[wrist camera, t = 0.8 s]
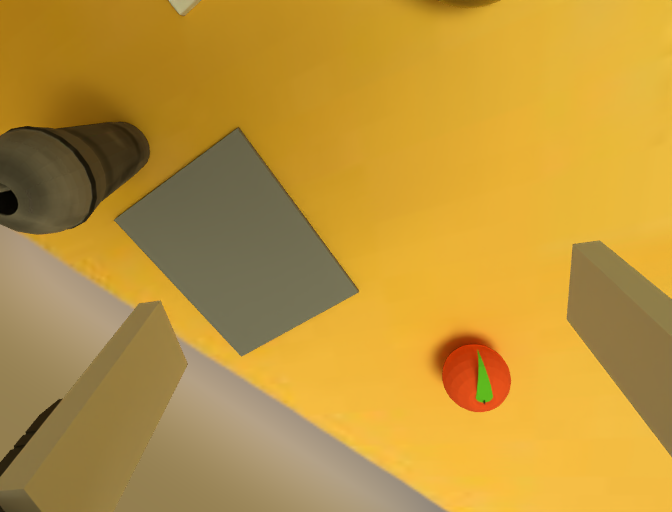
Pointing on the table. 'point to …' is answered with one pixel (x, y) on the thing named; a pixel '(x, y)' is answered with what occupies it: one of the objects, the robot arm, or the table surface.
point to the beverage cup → (64, 172)
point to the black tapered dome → (468, 3)
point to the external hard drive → (183, 5)
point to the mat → (237, 246)
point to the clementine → (476, 378)
